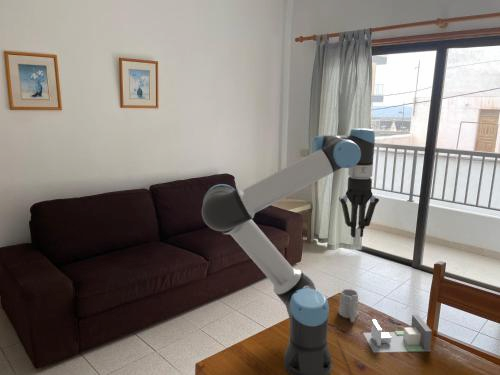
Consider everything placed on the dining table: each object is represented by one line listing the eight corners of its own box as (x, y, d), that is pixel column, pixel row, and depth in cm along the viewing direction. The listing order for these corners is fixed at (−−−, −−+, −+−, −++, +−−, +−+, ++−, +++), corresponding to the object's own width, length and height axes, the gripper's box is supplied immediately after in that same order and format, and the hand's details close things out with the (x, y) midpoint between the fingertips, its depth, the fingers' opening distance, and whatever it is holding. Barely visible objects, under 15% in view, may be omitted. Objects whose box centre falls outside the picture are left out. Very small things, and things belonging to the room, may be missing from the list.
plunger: (377, 345, 128) (378, 329, 127) (371, 335, 134) (372, 319, 133) (392, 345, 129) (393, 329, 127) (385, 335, 134) (386, 319, 133)
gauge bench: (373, 355, 126) (375, 333, 125) (362, 335, 137) (364, 315, 135) (430, 354, 127) (432, 332, 125) (415, 334, 138) (417, 313, 136)
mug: (355, 310, 154) (357, 283, 151) (363, 327, 142) (365, 298, 140) (336, 310, 154) (337, 282, 151) (342, 327, 142) (344, 297, 140)
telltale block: (408, 344, 130) (409, 334, 129) (403, 337, 134) (404, 327, 133) (419, 344, 130) (420, 334, 129) (414, 337, 134) (415, 327, 133)
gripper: (343, 179, 120) (339, 250, 125) (384, 178, 120) (379, 249, 126) (337, 175, 127) (334, 242, 133) (375, 174, 128) (371, 241, 133)
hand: (356, 245), depth 129 cm, fingers closed
